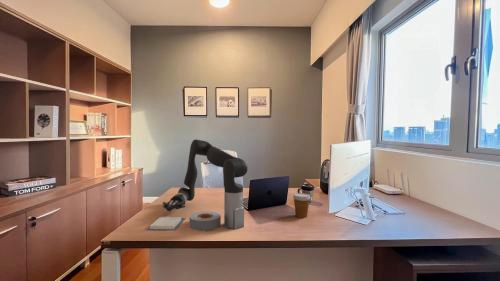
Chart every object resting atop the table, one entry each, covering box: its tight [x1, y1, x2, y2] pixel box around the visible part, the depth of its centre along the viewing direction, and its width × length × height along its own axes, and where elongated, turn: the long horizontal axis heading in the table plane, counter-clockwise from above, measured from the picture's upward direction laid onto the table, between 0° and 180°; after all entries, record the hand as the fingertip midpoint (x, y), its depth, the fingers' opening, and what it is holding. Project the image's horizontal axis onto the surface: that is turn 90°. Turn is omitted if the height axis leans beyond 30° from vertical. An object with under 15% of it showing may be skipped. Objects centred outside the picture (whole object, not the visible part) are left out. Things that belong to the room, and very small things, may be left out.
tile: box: [149, 216, 182, 231], centre depth 128 cm, size 11×2×13 cm
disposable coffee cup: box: [292, 192, 311, 219], centre depth 145 cm, size 10×10×12 cm
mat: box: [146, 217, 187, 232], centre depth 130 cm, size 14×18×1 cm
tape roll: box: [188, 211, 222, 232], centre depth 129 cm, size 15×15×5 cm
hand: (168, 209), depth 132 cm, fingers closed
